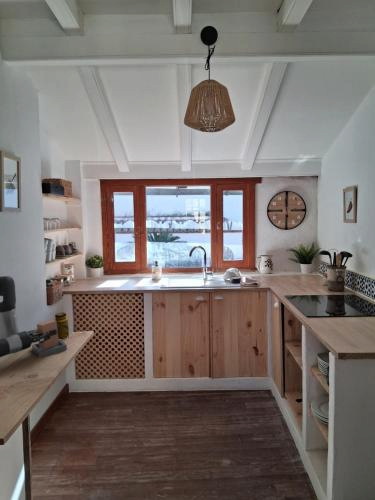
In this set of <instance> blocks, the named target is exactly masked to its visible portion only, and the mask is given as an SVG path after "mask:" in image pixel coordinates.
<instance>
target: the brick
mask: <svg viewBox="0 0 375 500" xmlns="http://www.w3.org/2000/svg"><path fill="white" fill-rule="evenodd" d="M36 327H37V328H36V329H37V330H38V333H40V332H43V333H45V332H49V331H52V330H57V322H56V321H55V319H48V320H45V321H42V322H38V323H36ZM44 335H45V334H44ZM41 336H42V334H41ZM38 343H39V342H38ZM58 344H59V342H58V332H57V334H56V335H53V336H50V339H49V340H47V341H45V342H43V343H39V347H40V348H42V349H47V348H50V347H52V346H55V345H58Z"/></svg>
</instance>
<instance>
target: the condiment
mask: <svg viewBox="0 0 375 500" xmlns="http://www.w3.org/2000/svg"><path fill="white" fill-rule="evenodd" d="M54 317H55V318H54V320H55V321H56V322H57V332H58V338H59V339H63V340H65V339H64V338H66V339H68V338H67V337H69V335H70V329H69V320H68V319H69V318H68V317H67V313H66V312H58V313H56V314H55V315H54ZM70 336H71V337H70V338H72V337H73V335H70Z"/></svg>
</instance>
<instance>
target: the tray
mask: <svg viewBox="0 0 375 500" xmlns="http://www.w3.org/2000/svg"><path fill="white" fill-rule="evenodd" d="M58 342H59V344H58V345H55V346H52V347H50V348H47V349H42V348H40V347H39V342H36V343H35V344H34V343H32V344H31V348H32V351H33V352H34V354H36V355H37V356H38V358H41V357H42V358H43V357H45V356H49V355H52V354H56V353H61V352H63V351H68V346H67V344H66V343H65V342H64V341H63V340H60V339H59V338H58Z"/></svg>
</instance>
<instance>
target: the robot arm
mask: <svg viewBox="0 0 375 500" xmlns="http://www.w3.org/2000/svg"><path fill="white" fill-rule="evenodd" d="M0 297H2V301H0V358H2V357H5V356H7V355H11V354H15V353H18V352H22V351H25V350H26V349H27V350H28V349H30V348H31V347H32V345H33V344H34V343H35V344H37V343H43V342H45V341H47V340H49V339H50V336H53V335H56V334H57V330H52V331H49V332H45V333H43V332H40V333H38V330H37V328H35V329H32V330H28V331H25V330H23V331H20V330H19V324H18V322H19V321H18V315H17V308H16V304H17V303H16V302H17V296H16V282H15V280H14V278H13V277H12V276H10V275H9V276H8V275H6V276H5V275H4V276H1V275H0ZM41 334H42V336H41ZM44 334H45V335H44Z"/></svg>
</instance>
